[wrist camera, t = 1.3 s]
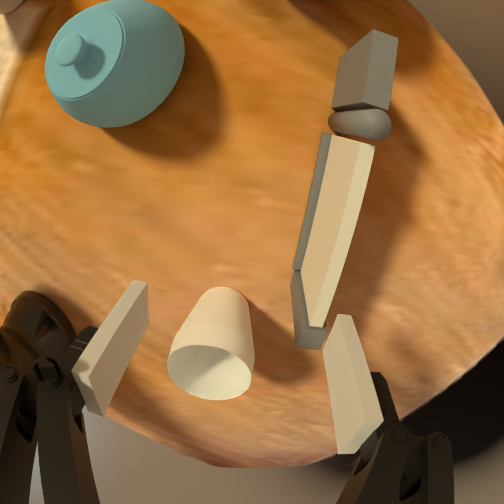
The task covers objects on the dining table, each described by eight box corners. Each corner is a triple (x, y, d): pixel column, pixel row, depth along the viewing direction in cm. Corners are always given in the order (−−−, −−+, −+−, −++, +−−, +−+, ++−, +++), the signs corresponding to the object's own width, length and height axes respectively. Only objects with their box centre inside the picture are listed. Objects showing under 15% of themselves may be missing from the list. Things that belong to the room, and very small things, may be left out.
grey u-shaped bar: (287, 286, 37) (293, 354, 26) (335, 55, 25) (371, 23, 14) (311, 289, 37) (324, 357, 26) (362, 63, 25) (410, 37, 14)
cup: (267, 325, 39) (264, 395, 29) (206, 338, 41) (189, 404, 30) (244, 269, 36) (233, 335, 25) (179, 287, 38) (148, 350, 27)
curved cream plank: (331, 134, 28) (360, 141, 19) (353, 140, 28) (390, 150, 19) (300, 271, 35) (309, 325, 26) (320, 274, 35) (334, 328, 26)
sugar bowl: (145, -13, 22) (98, -51, 11) (217, 66, 26) (188, 39, 16) (58, 71, 26) (-5, 68, 15) (116, 152, 31) (55, 171, 20)
